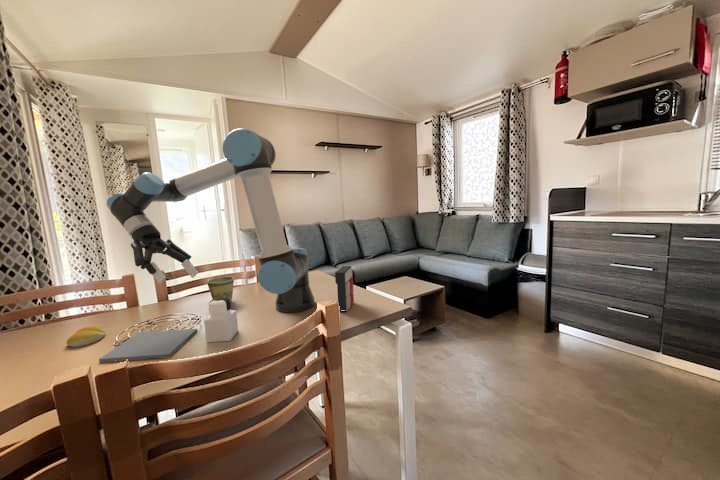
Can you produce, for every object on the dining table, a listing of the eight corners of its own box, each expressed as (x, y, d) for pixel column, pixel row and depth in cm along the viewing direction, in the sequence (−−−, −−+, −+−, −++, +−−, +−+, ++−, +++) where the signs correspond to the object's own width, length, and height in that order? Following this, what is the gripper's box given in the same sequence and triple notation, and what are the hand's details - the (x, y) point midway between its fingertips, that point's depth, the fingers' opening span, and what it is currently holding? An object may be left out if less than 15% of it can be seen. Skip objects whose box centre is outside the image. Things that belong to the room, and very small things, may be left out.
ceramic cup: (229, 306, 117) (227, 282, 116) (204, 307, 117) (202, 283, 116) (242, 296, 130) (240, 274, 129) (220, 297, 130) (218, 275, 129)
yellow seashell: (62, 350, 86) (59, 337, 86) (78, 337, 95) (76, 325, 94) (96, 344, 89) (94, 332, 88) (110, 332, 97) (108, 321, 97)
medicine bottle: (215, 332, 94) (211, 296, 93) (238, 330, 95) (235, 295, 93) (206, 342, 87) (201, 304, 86) (230, 341, 88) (226, 302, 86)
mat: (197, 331, 95) (197, 328, 95) (169, 357, 79) (169, 354, 79) (139, 335, 94) (138, 332, 94) (99, 362, 78) (98, 359, 78)
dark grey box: (348, 312, 107) (346, 272, 105) (336, 312, 108) (334, 272, 106) (354, 302, 118) (353, 265, 116) (344, 301, 118) (342, 265, 116)
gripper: (166, 239, 112) (200, 280, 110) (97, 238, 88) (138, 291, 85) (179, 225, 111) (212, 266, 109) (112, 221, 87) (154, 274, 84)
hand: (180, 277), depth 97 cm, fingers open, 13 cm apart
